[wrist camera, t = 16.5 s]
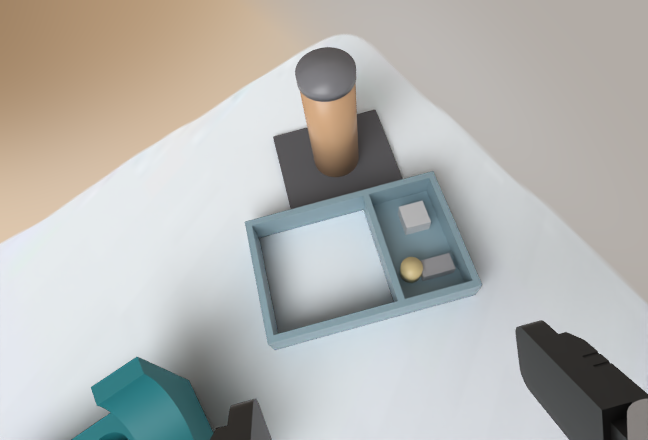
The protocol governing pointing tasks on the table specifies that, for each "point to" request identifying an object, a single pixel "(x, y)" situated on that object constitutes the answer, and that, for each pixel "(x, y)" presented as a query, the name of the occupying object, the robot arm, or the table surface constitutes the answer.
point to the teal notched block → (147, 406)
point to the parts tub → (381, 252)
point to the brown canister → (330, 108)
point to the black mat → (315, 187)
